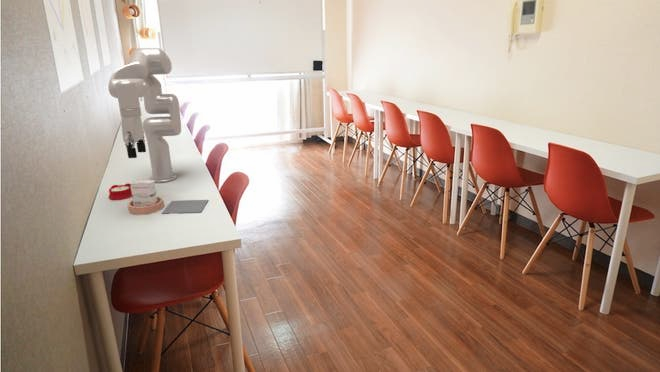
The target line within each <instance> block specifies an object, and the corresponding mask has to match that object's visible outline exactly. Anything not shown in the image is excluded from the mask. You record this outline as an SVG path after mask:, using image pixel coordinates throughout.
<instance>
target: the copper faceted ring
mask: <svg viewBox="0 0 660 372" xmlns="http://www.w3.org/2000/svg"><path fill="white" fill-rule="evenodd" d="M157 202H158V203H157V204H154V205H151V206H146V207H134V204H133V199H131V200H130V201H129V202H128V203H127V208H128V211H129V214H131V215H136V216H137V215H148V214H154V213H157V212H159V211H161V210H162V209H163V208H164V207H165V203H164V202H165V201H164V198H162V197H161V196H157Z"/></svg>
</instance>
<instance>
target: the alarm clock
mask: <svg viewBox="0 0 660 372" xmlns="http://www.w3.org/2000/svg"><path fill="white" fill-rule="evenodd" d="M130 184H131V183H125V184H121V185H119V184H113V185H111V186H110V188H109V189H108V192H109V194H108V199H110V200H112V201H114V200H115V201H118V200H119V201H122V200H126V199H129V198H132V192H131V186H130Z"/></svg>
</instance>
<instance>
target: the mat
mask: <svg viewBox="0 0 660 372" xmlns="http://www.w3.org/2000/svg"><path fill="white" fill-rule="evenodd" d="M208 202H209V199H189V200H188V199H187V200H171V201H170V202H169V204H168V205H167V206H166V207H165V208H164V210H163V211H162V212H161V215H171V214H170V213H178V214H198V213H199V214H201V213H202V212H203V210H204V209H205V207H206V206H207V204H208Z"/></svg>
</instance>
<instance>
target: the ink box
mask: <svg viewBox="0 0 660 372" xmlns="http://www.w3.org/2000/svg"><path fill="white" fill-rule="evenodd" d="M129 184H130V186H131V192H132V196H131V198H132V200H133V204H134V207H146V206H151V205H154V204H157V203H158V202H157V188H156V183H155V182H154V180H150V179H148V180H134V181H132V182H131V183H129Z"/></svg>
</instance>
